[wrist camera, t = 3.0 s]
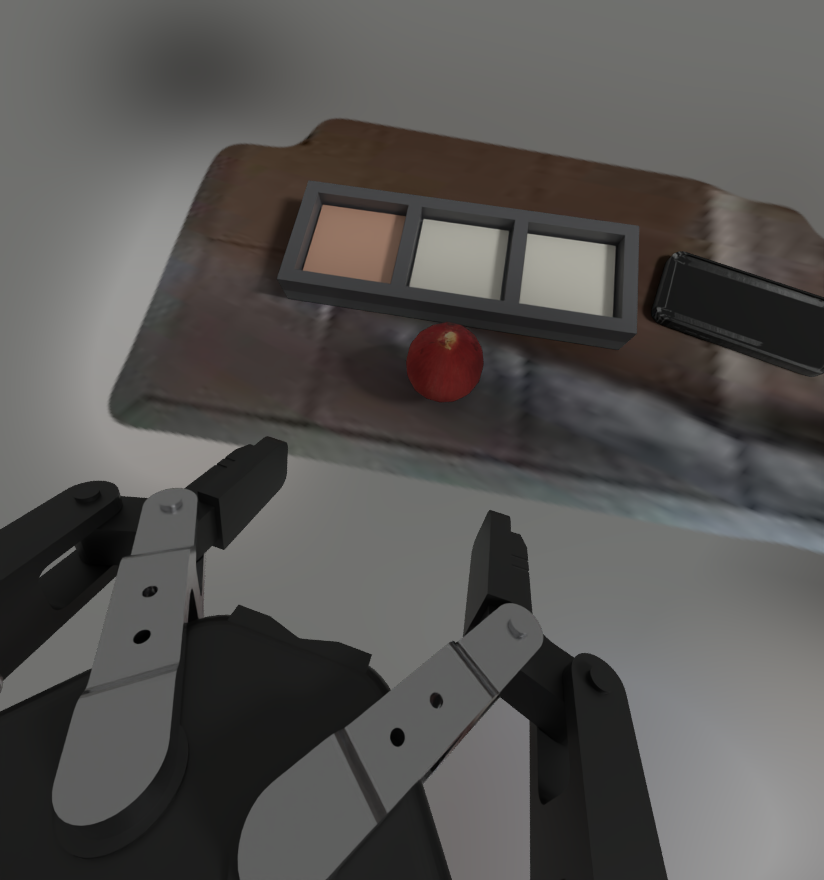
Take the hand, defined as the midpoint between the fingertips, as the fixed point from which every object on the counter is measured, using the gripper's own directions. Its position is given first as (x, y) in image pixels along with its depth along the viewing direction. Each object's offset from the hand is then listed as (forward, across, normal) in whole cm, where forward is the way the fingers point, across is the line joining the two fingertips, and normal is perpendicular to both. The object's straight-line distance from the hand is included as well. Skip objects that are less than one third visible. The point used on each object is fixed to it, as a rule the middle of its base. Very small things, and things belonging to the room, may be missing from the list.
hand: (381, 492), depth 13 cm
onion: (+18, 0, +2) cm, 19 cm away
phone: (+29, -24, -8) cm, 39 cm away
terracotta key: (+24, +11, -6) cm, 28 cm away
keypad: (+26, +2, -6) cm, 27 cm away
